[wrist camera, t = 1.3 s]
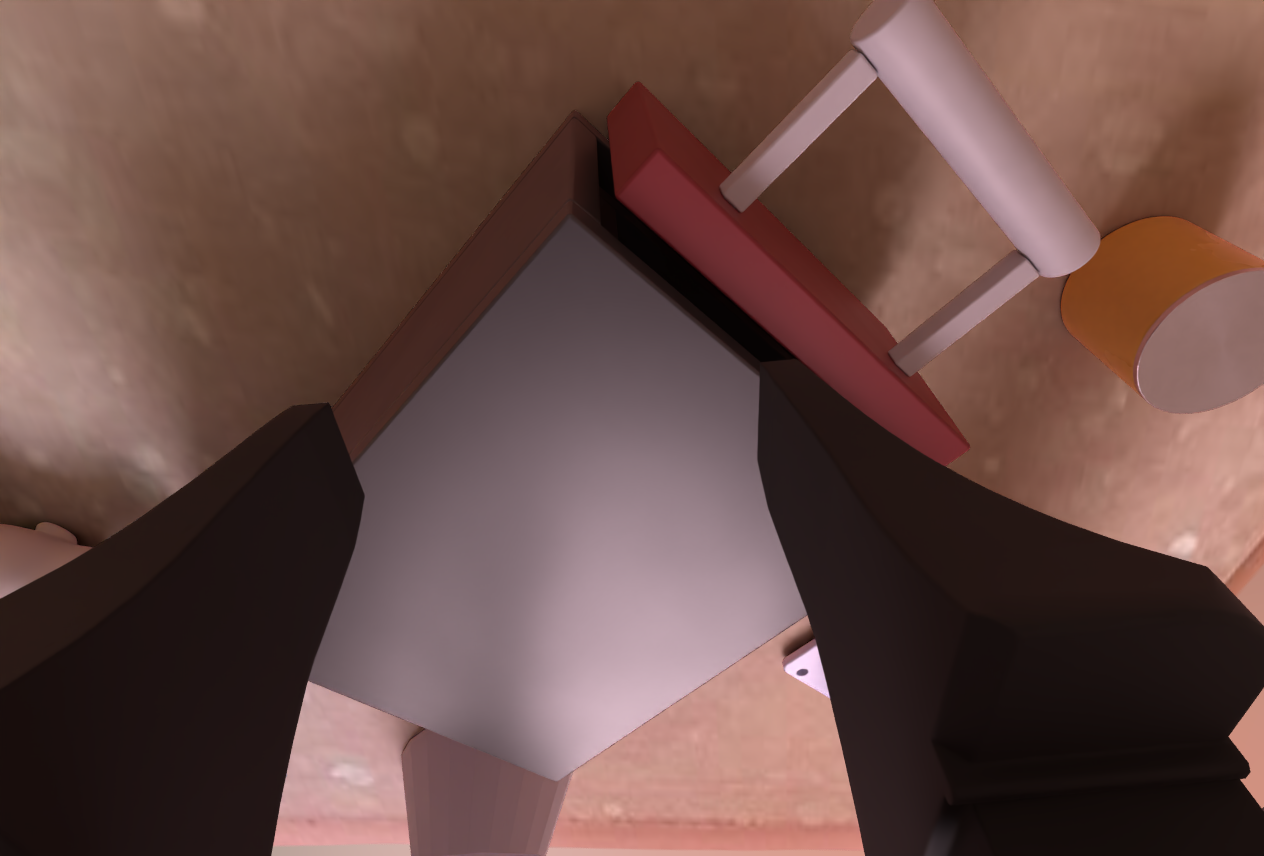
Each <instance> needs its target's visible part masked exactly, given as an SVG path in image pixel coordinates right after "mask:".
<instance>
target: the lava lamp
mask: <svg viewBox="0 0 1264 856" xmlns="http://www.w3.org/2000/svg"><path fill="white" fill-rule="evenodd" d="M402 771H403V781H404V790H405V800H406V810H407V820H408V830H409V839H410V849H411V856H447V855H458V854H469V853H480V852H485V853H516V854H537V855H540V856H546V854H547V851H548V848H549V845H550V842H551V839H552V836H553V832H554V829H555V826H556V823H557V820H558V817H559V814H560V811H561V808H562V805H563V801H564V798H565V795H566V792H567V789H568V786H569V783H570V780H571V777H572V773H573V772H571V773H570V774H568V775H567V776H565V777H564V778H562V779H561V780H559V781H557V782H555V781H553V780H550V779H548V778H545V777H543V776H541V775H538V774H536V773H533V772H531V771H528V770H526V769H523V768H521V767H518V766H516V765H514V764H511V763H509V762H506V761H504V760H501V759H499V758H496V757H494V756H491V755H489V754H487V753H484V752H482V751H479V750H477V749H474V748H472V747H469V746H467V745H464V744H462V743H460V742H457V741H455V740H452V739H450V738H447V737H445V736H442V735H440V734H437V733H435V732H433V731H430V730H428V729H425V730H423V731H422V732H420V733H419V734H418V735H416V736H415V737H414V738H412V739H411V740H410V741H409V743H408V744H407V746H406V748H405V750H404V751H403V753H402Z"/></svg>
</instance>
